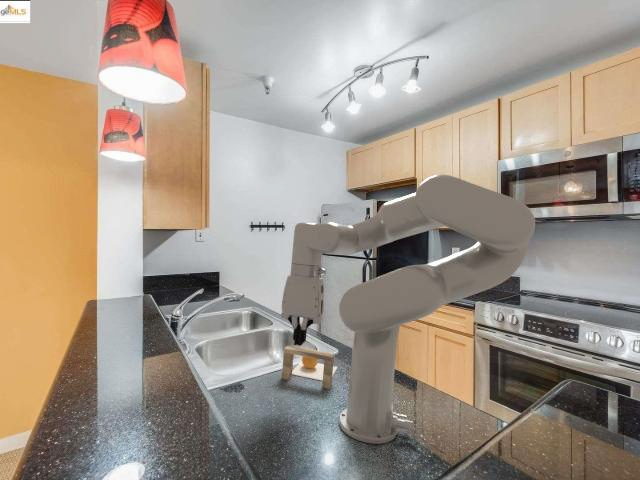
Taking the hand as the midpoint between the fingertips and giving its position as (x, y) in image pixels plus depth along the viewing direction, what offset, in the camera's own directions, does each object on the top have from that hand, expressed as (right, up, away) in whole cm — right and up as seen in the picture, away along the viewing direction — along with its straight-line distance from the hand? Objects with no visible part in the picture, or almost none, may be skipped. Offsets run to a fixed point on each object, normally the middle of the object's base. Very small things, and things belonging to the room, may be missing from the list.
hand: (299, 343), depth 78 cm
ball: (+2, -12, +19) cm, 23 cm away
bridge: (+1, -14, +9) cm, 17 cm away
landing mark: (+4, -14, +18) cm, 23 cm away
